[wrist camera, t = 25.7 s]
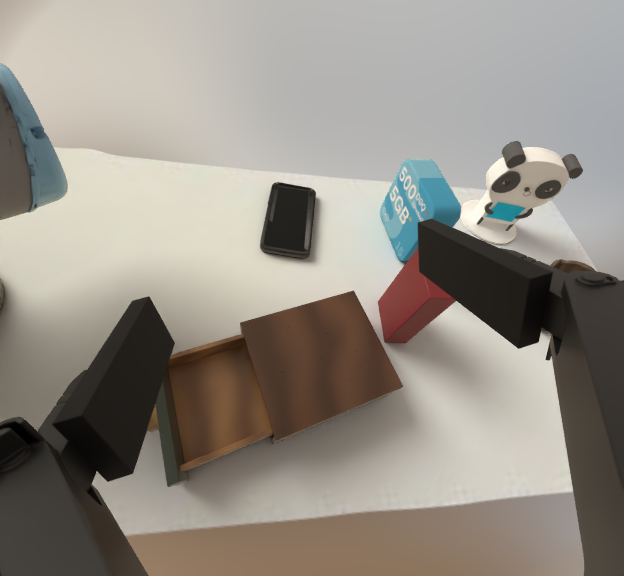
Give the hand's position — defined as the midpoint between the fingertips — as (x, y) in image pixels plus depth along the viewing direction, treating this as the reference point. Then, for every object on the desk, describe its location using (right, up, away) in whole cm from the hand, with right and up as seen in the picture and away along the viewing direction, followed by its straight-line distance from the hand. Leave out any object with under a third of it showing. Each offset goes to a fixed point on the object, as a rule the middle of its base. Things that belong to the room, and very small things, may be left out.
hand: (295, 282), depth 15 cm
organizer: (+1, -10, +24) cm, 26 cm away
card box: (+12, -5, +29) cm, 32 cm away
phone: (-3, +11, +36) cm, 38 cm away
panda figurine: (+35, +13, +45) cm, 58 cm away
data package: (+16, +9, +39) cm, 43 cm away
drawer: (-8, -13, +20) cm, 26 cm away
